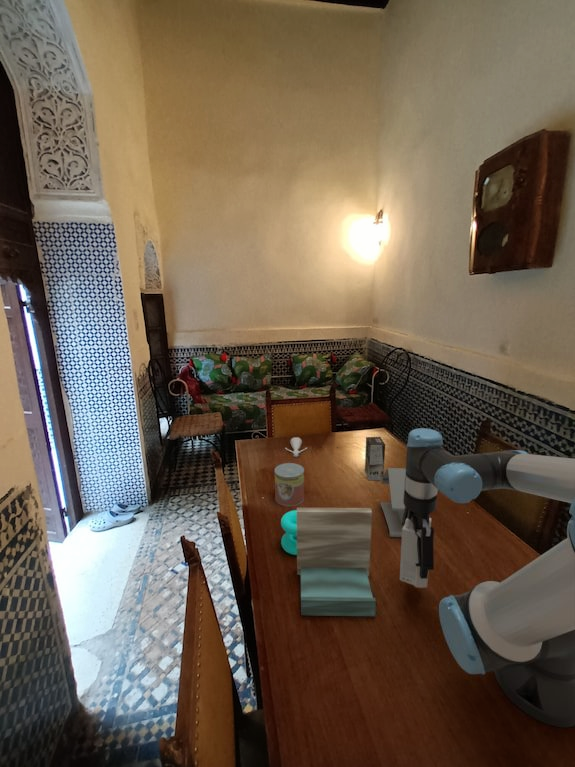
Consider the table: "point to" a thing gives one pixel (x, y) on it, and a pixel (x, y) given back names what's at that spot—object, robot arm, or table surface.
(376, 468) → the coffee box
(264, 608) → the table surface
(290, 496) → the canned food
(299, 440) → the woman figurine
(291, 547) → the donuts
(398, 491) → the folded metal stand
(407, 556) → the skincare box
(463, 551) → the table surface
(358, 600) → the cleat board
